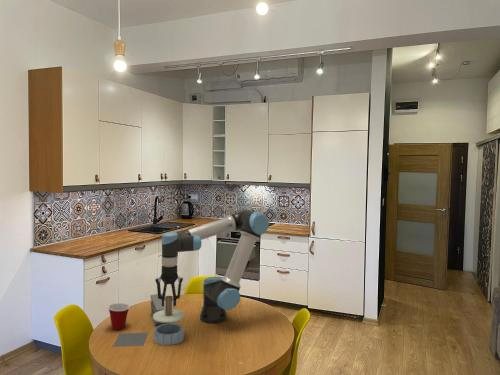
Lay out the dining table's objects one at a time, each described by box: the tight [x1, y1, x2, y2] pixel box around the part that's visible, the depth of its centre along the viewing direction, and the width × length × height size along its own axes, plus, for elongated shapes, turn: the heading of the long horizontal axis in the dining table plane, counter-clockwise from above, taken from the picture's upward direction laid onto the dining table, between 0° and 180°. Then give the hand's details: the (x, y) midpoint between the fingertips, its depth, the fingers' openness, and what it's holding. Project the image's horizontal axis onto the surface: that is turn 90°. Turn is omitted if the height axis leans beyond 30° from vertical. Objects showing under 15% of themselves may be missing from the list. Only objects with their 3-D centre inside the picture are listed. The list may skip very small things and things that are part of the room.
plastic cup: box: [107, 302, 131, 331], centre depth 191 cm, size 11×11×12 cm
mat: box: [112, 332, 149, 348], centre depth 179 cm, size 14×14×1 cm
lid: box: [153, 295, 185, 323], centre depth 180 cm, size 15×15×10 cm
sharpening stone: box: [150, 293, 167, 326], centre depth 202 cm, size 25×8×11 cm, turn 22°
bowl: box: [153, 322, 185, 346], centre depth 180 cm, size 14×14×5 cm
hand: (168, 312), depth 180 cm, fingers closed on lid, 3 cm apart
